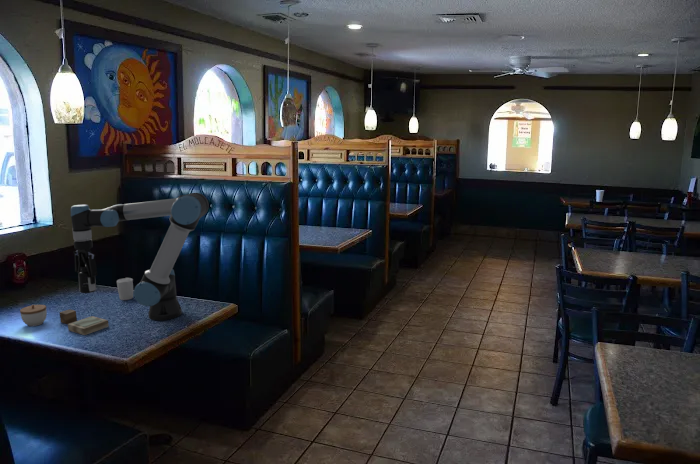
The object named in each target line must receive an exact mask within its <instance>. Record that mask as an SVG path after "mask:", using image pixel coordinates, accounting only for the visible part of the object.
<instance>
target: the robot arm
mask: <svg viewBox="0 0 700 464" xmlns="http://www.w3.org/2000/svg"><path fill="white" fill-rule="evenodd" d="M209 206H210V205H209V200H208V199H207V197H206V196H205V195H204V194H202V193H200V192H192V193H188V194H182V195H179V196H178V197H176V198H175V197H174V198H167V199H158V200H150V201H149V200H148V201H142V202H139V201H138V202H132V203H131V202H130V203H124V204H122V203H117V204H113V205H112V206H108V207H106V208H102V209H90V206H89V204H74V205H72V206H71V207H70V218H71V227H72V238H73V240H74V241H73V248H74V249H75V250H73V255H74V272H75V273H77V274H79V272H81V270H80V266H81V265H86V268H87V271H88V275H89V276H88V284H89V291H94V290H96V291H97V285H96V286H95V281H96V276H98V275H99V273H98V269H97V268H98V267H97V261H96V253H92V251H91V249H92V248H93V247H94V244H93V243H94V242H93V239H92V237H93V236H92V235H93V234H92V233H93V232H92V227H94V228H95V227H96V228H98V227H102V228H103V227H104V228H113V227H116V226H117V225H118V223H119V222H123V221H124V222H125V221H130V220H131V221H132V220H141V219H149V218H150V219H151V218H159V217H168V216H169V222H170V225H169V227H168V229H167V231H166V233H165V236H164V238H163V241H162V243H161V245H160V247H159V249H158V251H157V254H156V255H155V257H154V260H153V262H152V264H151V267H150V269H147V270H145V271H144V274H143V276H142V278H141V280H140V282H139V283H137V284H136V285H135V286H134V288H133V298H135V300H136V302H137V303H138V304H140V305H141V306H144V307H149V309H148V312H147V313H148V318H149V320H153V321H168V320H173V319H176V318H178V317H180V316H182V312H183V311H182V310H183V309H182V307H181V305H180V302H179V301H178V298H177V297H178V296H177V284H176V274H175V270H174V269H173V268H174V267H175V263H176V262H177V259H178V258H179V256H180V253H181V252H182V249H183V246H184V245H185V242H186V240H187V239H188V236H189V233H190V232H193V231H195V229H196V228H197V225H198V224H199V220H200V219H201V218H202V217H204V216H205V215H206V214H207V212H208V211H209V208H210V207H209ZM94 292H95V291H94Z"/></svg>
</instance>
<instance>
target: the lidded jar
mask: <svg viewBox="0 0 700 464" xmlns="http://www.w3.org/2000/svg"><path fill="white" fill-rule="evenodd" d="M47 311H48V310H47V305H45V304H31V305H28V306H25V307H23V308H21V309H19V313H20V316H21V317H20V318H21V319H22V322H23V323H24V324H25V325H27V326H28V327H37V326H41V325H43V324H44V323H45V320H46V319H47V315H48V312H47Z"/></svg>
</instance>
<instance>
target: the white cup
mask: <svg viewBox="0 0 700 464" xmlns="http://www.w3.org/2000/svg"><path fill="white" fill-rule="evenodd" d="M133 282H134V279H133V278H131V277H125V278H119V279H117V280H116V286H117V291H118V297H119V300H121V301H128V300H132V299H133V298H134V283H133Z"/></svg>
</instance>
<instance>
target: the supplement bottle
mask: <svg viewBox="0 0 700 464" xmlns="http://www.w3.org/2000/svg"><path fill="white" fill-rule="evenodd" d="M80 270H81V272H79V274H78V273H77V274H78V275H77V277H78V286H79V287H78V288H79V292H80V293H82V294H91V293H94V292H96V291H97V289H96V290H94V291H89V284H88V276H89V275H88V271H87V268H86V264H85V265H81V266H80ZM96 281H97V280H95V286H96V287H97V284H96Z"/></svg>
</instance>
